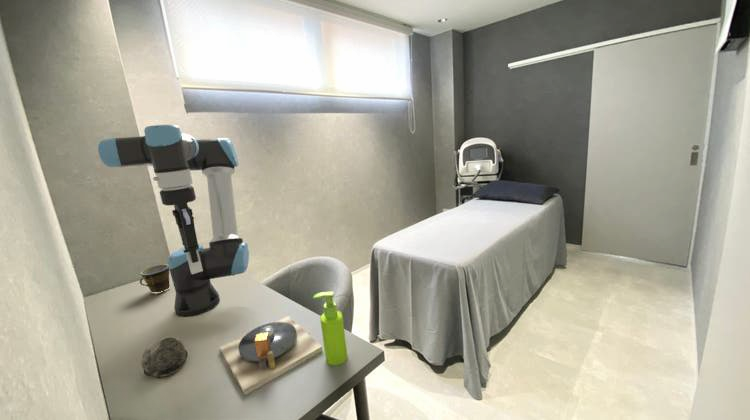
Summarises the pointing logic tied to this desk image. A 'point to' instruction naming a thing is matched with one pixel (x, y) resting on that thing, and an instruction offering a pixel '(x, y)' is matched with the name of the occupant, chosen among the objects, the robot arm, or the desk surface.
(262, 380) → the post base
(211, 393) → the desk surface
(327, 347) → the soap dispenser
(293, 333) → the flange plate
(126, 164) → the robot arm
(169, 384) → the desk surface
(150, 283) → the ceramic cup
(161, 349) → the fossil
